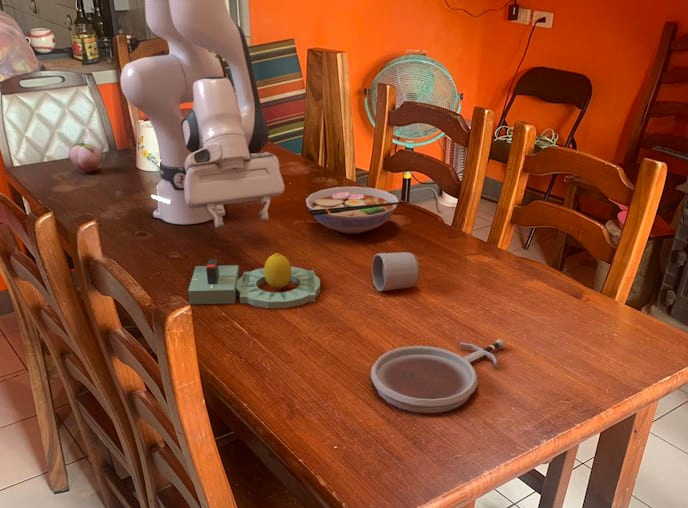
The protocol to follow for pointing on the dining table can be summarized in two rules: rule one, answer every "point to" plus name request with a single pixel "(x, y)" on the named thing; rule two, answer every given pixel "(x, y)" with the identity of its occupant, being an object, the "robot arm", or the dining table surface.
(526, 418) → the dining table surface
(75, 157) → the decorative fruit
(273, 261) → the lemon
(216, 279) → the hob knob
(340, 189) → the ramen bowl
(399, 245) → the dining table surface
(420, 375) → the frying pan
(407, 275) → the ceramic mug
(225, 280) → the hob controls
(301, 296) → the hob
